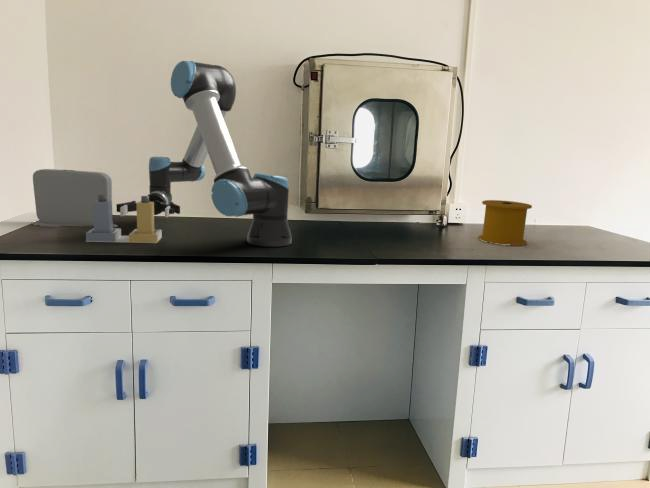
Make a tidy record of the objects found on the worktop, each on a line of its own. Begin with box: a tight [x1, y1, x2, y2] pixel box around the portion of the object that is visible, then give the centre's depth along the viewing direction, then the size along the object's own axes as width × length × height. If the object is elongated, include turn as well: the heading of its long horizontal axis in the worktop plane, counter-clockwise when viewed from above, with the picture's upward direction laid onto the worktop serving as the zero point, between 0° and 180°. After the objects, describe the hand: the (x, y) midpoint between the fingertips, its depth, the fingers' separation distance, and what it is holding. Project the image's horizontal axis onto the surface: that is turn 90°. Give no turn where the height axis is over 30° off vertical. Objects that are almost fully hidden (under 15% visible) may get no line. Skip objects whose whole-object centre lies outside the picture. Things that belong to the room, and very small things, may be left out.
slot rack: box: [85, 227, 163, 244], centre depth 169 cm, size 22×10×4 cm, turn 98°
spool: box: [477, 199, 533, 245], centre depth 201 cm, size 18×18×15 cm
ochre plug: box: [136, 195, 155, 234], centre depth 169 cm, size 4×4×14 cm
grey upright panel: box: [31, 168, 119, 228], centre depth 189 cm, size 31×10×20 cm, turn 84°
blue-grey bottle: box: [93, 195, 114, 233], centre depth 167 cm, size 4×4×14 cm
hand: (143, 212), depth 166 cm, fingers open, 13 cm apart
